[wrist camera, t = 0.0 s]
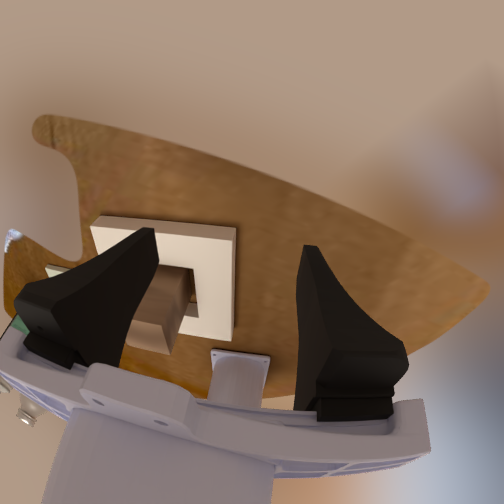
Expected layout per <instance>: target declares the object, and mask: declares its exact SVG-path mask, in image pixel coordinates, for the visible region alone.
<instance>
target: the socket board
mask: <svg viewBox="0 0 504 504" xmlns="http://www.w3.org/2000/svg"><path fill="white" fill-rule="evenodd" d="M90 227H91V231H92V235H93V238H94V242H95V245H96V248H97V252H98V255H99V254H101V253H103V252H104V251H106V250H108V249H109V248H111V247H112V246H114V245H115V244H117V243H118V242H120V241H122V240H123V239H125V238H126V237H128V236H129V235H131V234H132V233H134V232H135V231H137V230H139V229H141V228H142V227H148V228H154V230H155V237H156V243H157V249H158V255H159V260H160V261H159V264H163V265H170V266H178V267H185V268H193V269H194V278H195V288H196V297H197V304H195V303H189V304H188V307H187V309H186V312H185V315H184V318H183V320H182V323H181V326H180V329H179V331H178V333H182V334H188V335H194V336H199V337H205V338H212V339H218V340H225V341H231V340H232V335H233V329H234V290H235V251H236V228H233V227H223V226H214V225H203V224H193V223H183V222H172V221H161V220H149V219H138V218H125V217H113V216H99V217H98V218H97V219H96V220H95V222H94V223H93V224H92V225H91V226H90Z"/></svg>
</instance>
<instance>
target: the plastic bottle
mask: <svg viewBox="0 0 504 504" xmlns="http://www.w3.org/2000/svg"><path fill="white" fill-rule="evenodd" d="M20 401H21V408H19V409H18V413H17V415H16V416H17V417H19V418H20V419H21V420H23V421H24V422H26V423H27V424H28V425H30V426H32V427H33V426H34V424H35V422H36V417H37V416H40V415H42V414H44V413H46V412H47V411H48V410H47V409H45V408H43V407H42V406H40V405H39V404H37V403H35V402H34V401H32V400H31V399H29V398H28V397H26V396H25V395H23V394H22V393H20Z"/></svg>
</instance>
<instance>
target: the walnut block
mask: <svg viewBox="0 0 504 504" xmlns="http://www.w3.org/2000/svg"><path fill="white" fill-rule="evenodd" d="M191 296H192V293H191V285H190V277H189V268H185V267H178V266H170V265H163V264H158V267H157V270H156V272H155V275H154V277H153V279H152V281H151V283H150V285H149V287H148V289H147V291H146V293H145V295H144V297H143V299H142V301H141V302H140V304H139V306H138V308H137V310H136V312H135V315H134V317H133V319H132V322H131V325H130V328H129V331H128V334H127V337H126V342H127V344H128V345H130V346H134V347H138V348H142V349H146V350H150V351H154V352H158V353H163V354H167V355H170V354H171V352H172V349H173V346H174V343H175V340H176V337H177V334H178V331H179V329H180V326H181V323H182V320H183V318H184V315H185V312H186V309H187V307H188V304H189V301H190V298H191Z"/></svg>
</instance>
